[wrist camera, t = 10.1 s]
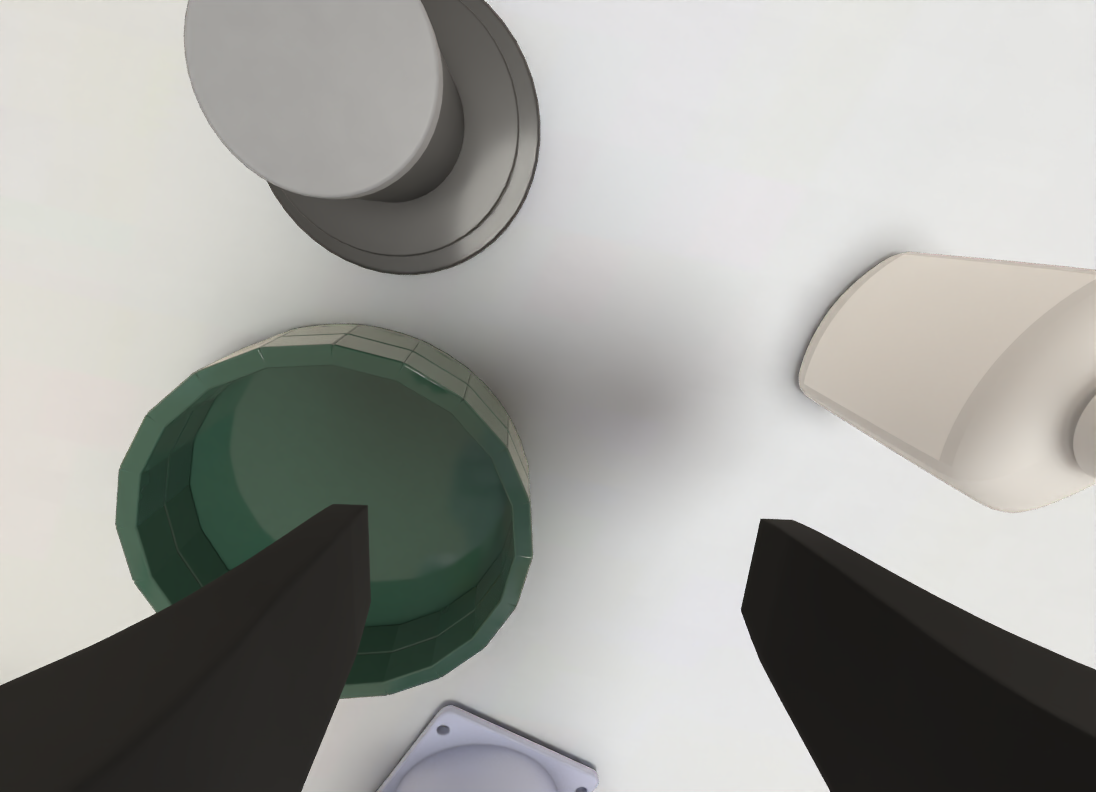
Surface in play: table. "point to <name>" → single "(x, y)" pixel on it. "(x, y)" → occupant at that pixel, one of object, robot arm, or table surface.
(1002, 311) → the eye dropper bottle
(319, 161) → the black canister
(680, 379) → the table surface
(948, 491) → the table surface
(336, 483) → the tin
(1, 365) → the table surface
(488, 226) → the gray stand
